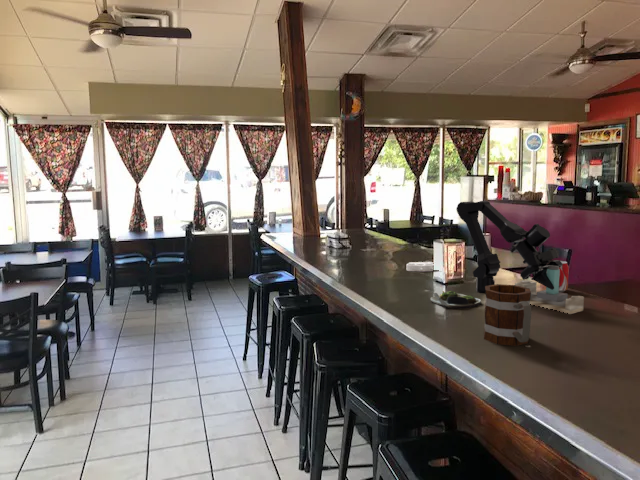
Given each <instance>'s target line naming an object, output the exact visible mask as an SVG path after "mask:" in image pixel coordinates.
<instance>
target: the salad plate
mask: <svg viewBox="0 0 640 480" xmlns="http://www.w3.org/2000/svg"><path fill="white" fill-rule="evenodd" d="M430 301H431V302H432V303H434V304H437V305H439V306H442V307H444V308H446V309H447V308H448V309H456V310H462V309H463V310H464V309H469V308H476V307H479V306H480V305H481V303H482V300H481V299H480V298H477V297H475V296H473V295H469V294H467V295H466V294H463V293H457V292H456V291H454V290H453V291H452V290H450V291H446V292H445V290H444V291H442V293H440V294H438V293H437V292H434V293H432V296H431V297H430Z"/></svg>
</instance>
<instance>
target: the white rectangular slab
mask: <svg viewBox="0 0 640 480" xmlns="http://www.w3.org/2000/svg"><path fill="white" fill-rule="evenodd" d="M433 263H434V262H432V261H423V262H422V261H418V262H416V261H415V262H412V261H411V262H410V261H409V262H408V263H406V267H405V268H406V271H408V272H434V271H433V267H434V264H433Z"/></svg>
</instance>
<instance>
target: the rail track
mask: <svg viewBox="0 0 640 480" xmlns="http://www.w3.org/2000/svg"><path fill="white" fill-rule="evenodd" d="M537 283H538V282H536V281H534V280H528V279H526V280H521V281H519V282H515V283H514V285H517V286H521V287H526V288H530V291H531V297H530V304H531V305H530V306H533V305H535V306H534V307H538V306H540V307H539V308H542V307H544V308H543V309H546V308H548V309H547V310H550V309H553V310H552V311H554V310H557V311H556V312H559V311H560V312H559V313H563V312H564V314H567V313H568V314H567V315H572V314H577V313H580V312H583V311H584V303H585V302H584V301H585V296H582V295H571V297H569V298H568V297H567V299H566V300H563V301H559V302H555V301H551V300H546V299H542V298H537Z"/></svg>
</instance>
